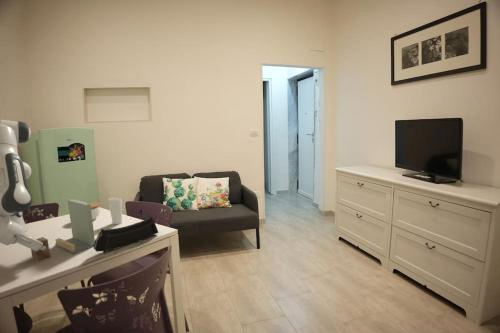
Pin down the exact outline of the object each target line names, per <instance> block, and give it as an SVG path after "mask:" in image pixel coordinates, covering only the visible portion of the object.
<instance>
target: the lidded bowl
mask: <svg viewBox="0 0 500 333" xmlns="http://www.w3.org/2000/svg"><path fill="white" fill-rule="evenodd" d="M86 203H89V204H90V205H91V213H92V221H95V220H96V219H97V218H98V217H99V215H100V211H101V208H100V207H101V205H100V203H99V202H89V201H87V202H86Z"/></svg>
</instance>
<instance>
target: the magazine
mask: <svg viewBox="0 0 500 333" xmlns="http://www.w3.org/2000/svg"><path fill="white" fill-rule="evenodd" d="M157 234H159V230H158V228H157V225H156V222H155V221H154V219H153V216H149V217H147V218H146V219H143V220H142V221H141V220H140V221H138V222H136V223H135V222H134V223H133V224H130V225H125V226H122V227H116V228H107V229H106V228H105V229H104V228H101V229H100V231H99V232H98V234H97V236H96V238H95V244H94V246H93V250H95V252H102V253H104V254H105V253H106V252H107V251H108V252H109V251H112V250H116V249H121V248H125V247H128V246H131V245H134V244H137V243H139V242H141V241H144V240H146V239H148V238H150V237H152V236H154V235H157Z"/></svg>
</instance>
